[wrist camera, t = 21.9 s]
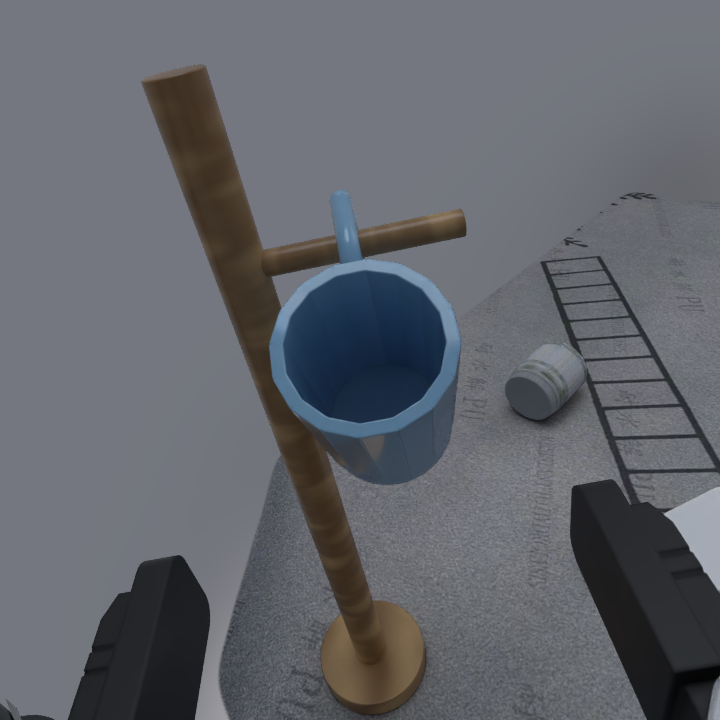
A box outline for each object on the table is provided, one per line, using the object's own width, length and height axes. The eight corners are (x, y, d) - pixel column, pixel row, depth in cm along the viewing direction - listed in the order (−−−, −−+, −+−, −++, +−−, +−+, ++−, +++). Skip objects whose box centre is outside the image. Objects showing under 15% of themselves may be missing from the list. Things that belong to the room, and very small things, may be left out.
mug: (465, 472, 27) (480, 415, 18) (333, 496, 27) (279, 453, 18) (419, 272, 31) (412, 141, 22) (306, 295, 31) (250, 177, 22)
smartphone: (579, 555, 47) (722, 483, 50) (579, 561, 47) (720, 489, 50) (646, 631, 41) (804, 544, 44) (646, 636, 42) (801, 550, 44)
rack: (325, 723, 41) (21, 118, 18) (324, 619, 48) (102, 80, 24) (517, 692, 40) (468, 16, 17) (489, 591, 47) (425, 5, 23)
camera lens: (550, 432, 61) (587, 392, 65) (556, 389, 57) (595, 349, 61) (500, 406, 64) (538, 370, 68) (503, 364, 60) (542, 329, 64)
